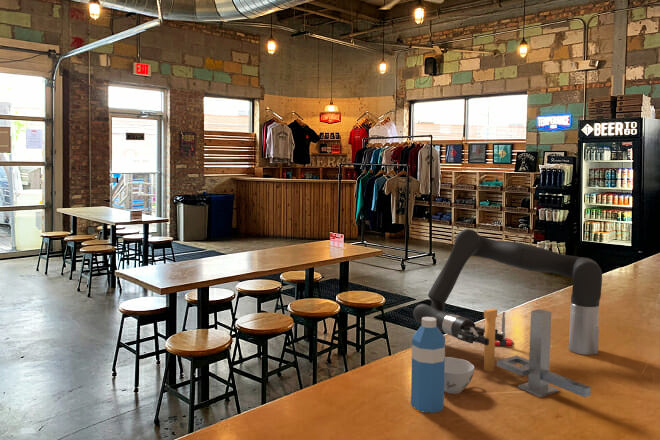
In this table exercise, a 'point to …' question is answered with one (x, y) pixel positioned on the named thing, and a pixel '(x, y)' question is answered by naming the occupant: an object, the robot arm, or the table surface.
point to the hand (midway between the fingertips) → (495, 340)
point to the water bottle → (428, 367)
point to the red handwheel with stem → (509, 341)
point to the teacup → (457, 374)
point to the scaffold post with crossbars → (541, 362)
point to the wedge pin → (490, 334)
